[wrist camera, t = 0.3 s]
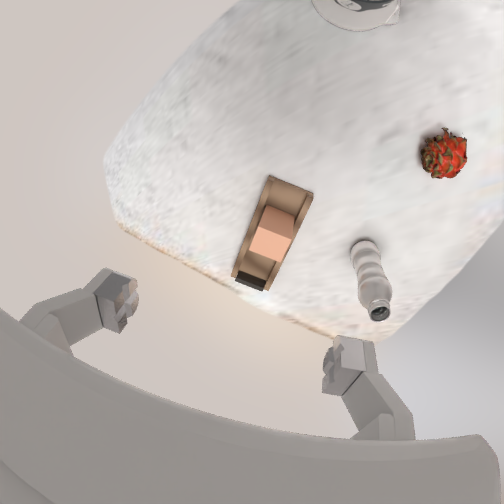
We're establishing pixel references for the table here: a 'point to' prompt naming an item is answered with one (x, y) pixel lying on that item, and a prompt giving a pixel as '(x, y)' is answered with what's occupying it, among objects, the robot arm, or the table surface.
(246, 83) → the table surface
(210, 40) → the table surface
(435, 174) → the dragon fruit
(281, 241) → the block
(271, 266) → the chute
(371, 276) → the plastic bottle
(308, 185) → the table surface
